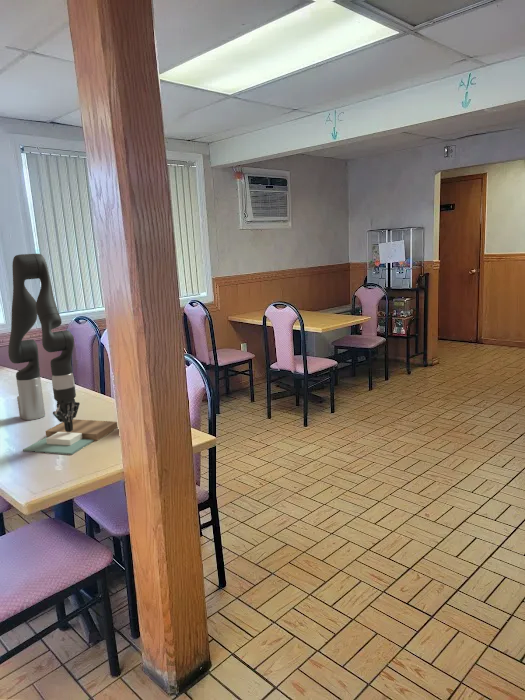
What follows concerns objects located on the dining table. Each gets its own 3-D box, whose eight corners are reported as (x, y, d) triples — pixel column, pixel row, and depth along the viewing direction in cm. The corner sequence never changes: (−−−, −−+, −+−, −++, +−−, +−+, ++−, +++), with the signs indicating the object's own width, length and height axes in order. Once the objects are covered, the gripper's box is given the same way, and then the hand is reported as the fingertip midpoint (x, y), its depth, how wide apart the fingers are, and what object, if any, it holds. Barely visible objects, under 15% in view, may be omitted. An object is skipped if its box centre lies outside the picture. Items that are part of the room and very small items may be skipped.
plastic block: (46, 443, 187) (46, 438, 186) (59, 436, 193) (58, 431, 193) (70, 445, 184) (69, 440, 184) (82, 438, 191) (81, 433, 190)
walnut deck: (46, 437, 195) (45, 431, 195) (69, 424, 208) (68, 419, 208) (96, 440, 189) (96, 434, 189) (117, 427, 202) (116, 421, 202)
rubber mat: (23, 451, 182) (22, 449, 182) (47, 437, 194) (47, 436, 194) (71, 454, 177) (71, 453, 176) (93, 441, 189) (93, 439, 189)
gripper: (66, 380, 195) (71, 424, 198) (42, 390, 182) (48, 436, 186) (83, 381, 193) (88, 425, 196) (60, 391, 180) (66, 438, 184)
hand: (69, 431), depth 191 cm, fingers closed
